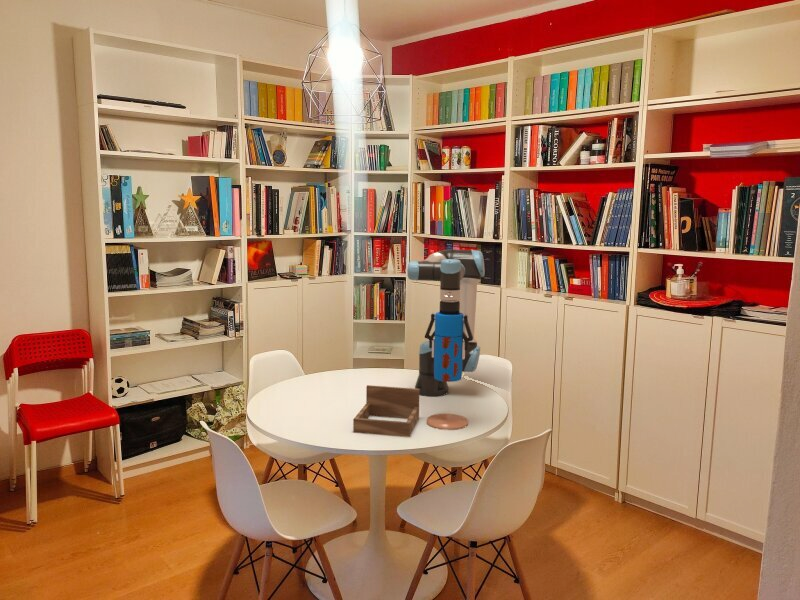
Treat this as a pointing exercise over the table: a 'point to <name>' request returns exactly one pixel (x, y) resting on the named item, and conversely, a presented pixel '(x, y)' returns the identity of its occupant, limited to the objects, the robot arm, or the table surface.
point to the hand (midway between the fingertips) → (448, 357)
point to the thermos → (448, 347)
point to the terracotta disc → (447, 421)
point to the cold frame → (388, 411)
